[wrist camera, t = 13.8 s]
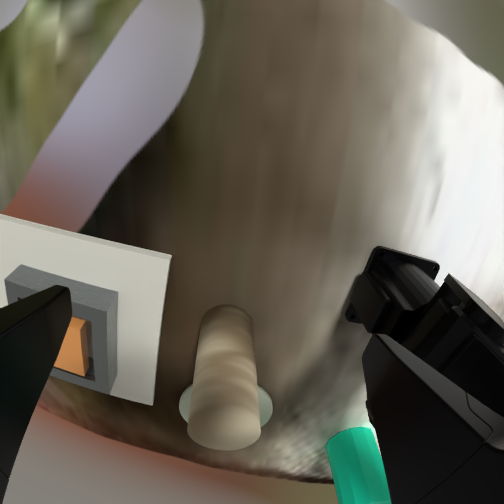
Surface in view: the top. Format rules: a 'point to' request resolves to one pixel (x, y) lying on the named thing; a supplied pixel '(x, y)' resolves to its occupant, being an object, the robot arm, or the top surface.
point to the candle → (357, 468)
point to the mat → (263, 400)
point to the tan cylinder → (225, 382)
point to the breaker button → (74, 348)
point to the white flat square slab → (94, 299)
